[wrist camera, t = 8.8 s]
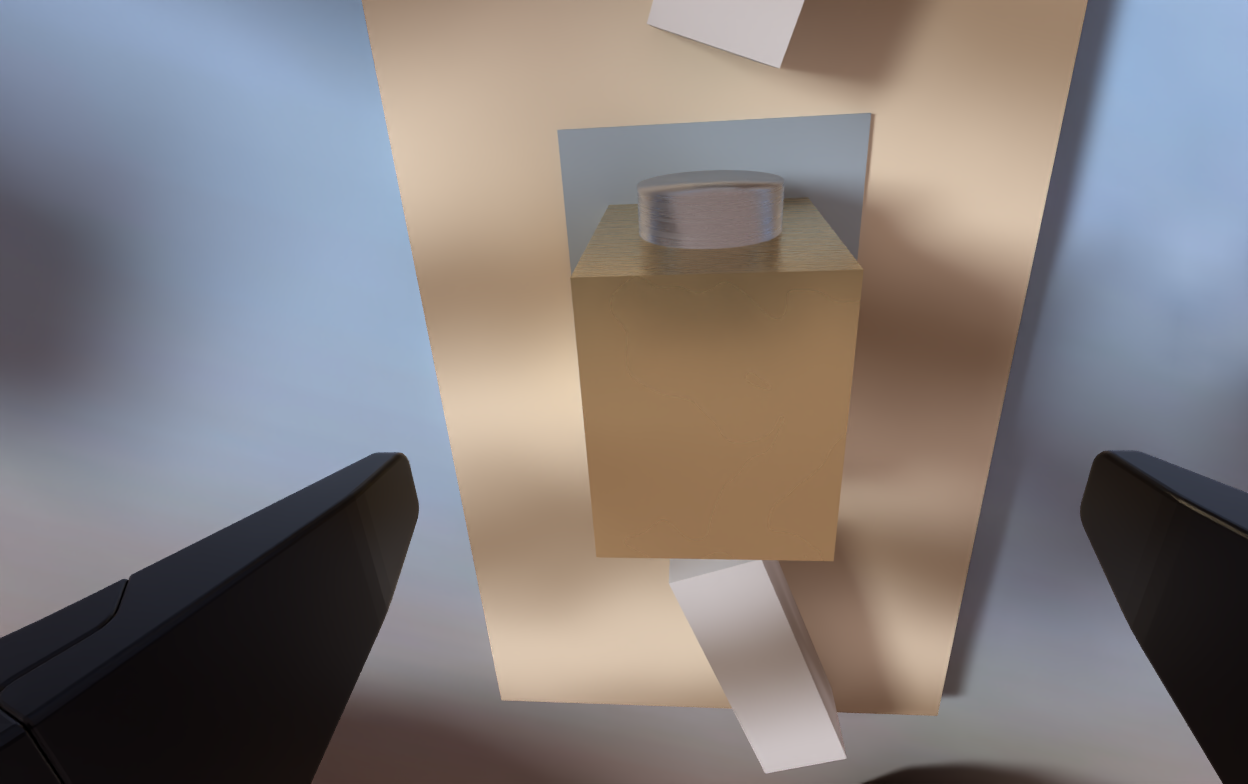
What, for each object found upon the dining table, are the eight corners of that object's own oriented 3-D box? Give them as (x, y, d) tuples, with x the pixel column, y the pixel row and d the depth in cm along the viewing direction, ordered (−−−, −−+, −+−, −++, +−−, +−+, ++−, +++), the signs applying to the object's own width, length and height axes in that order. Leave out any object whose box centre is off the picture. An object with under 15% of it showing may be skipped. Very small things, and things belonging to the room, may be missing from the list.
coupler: (606, 164, 14) (565, 220, 9) (810, 155, 13) (870, 209, 9) (624, 447, 17) (599, 592, 12) (792, 446, 16) (829, 597, 12)
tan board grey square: (926, 687, 21) (963, 788, 18) (509, 673, 22) (482, 766, 19) (1168, -553, 10) (1366, -801, 7) (302, -425, 11) (167, -587, 8)
